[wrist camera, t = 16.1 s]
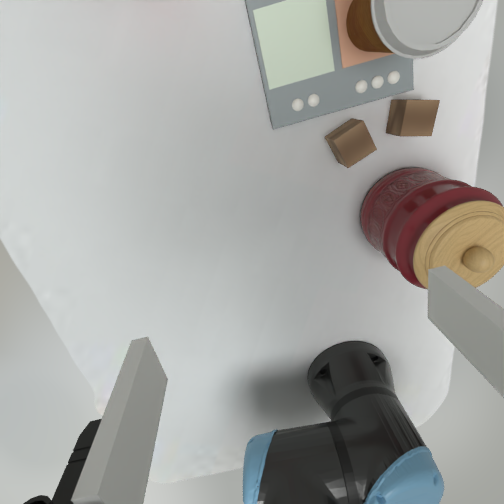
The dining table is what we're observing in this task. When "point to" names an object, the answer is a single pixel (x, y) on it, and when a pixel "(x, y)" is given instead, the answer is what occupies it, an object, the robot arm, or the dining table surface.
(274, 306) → the dining table surface
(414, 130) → the walnut block
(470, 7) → the disposable coffee cup
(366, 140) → the walnut block
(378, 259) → the dining table surface
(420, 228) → the canister
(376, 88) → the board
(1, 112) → the dining table surface
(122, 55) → the dining table surface
